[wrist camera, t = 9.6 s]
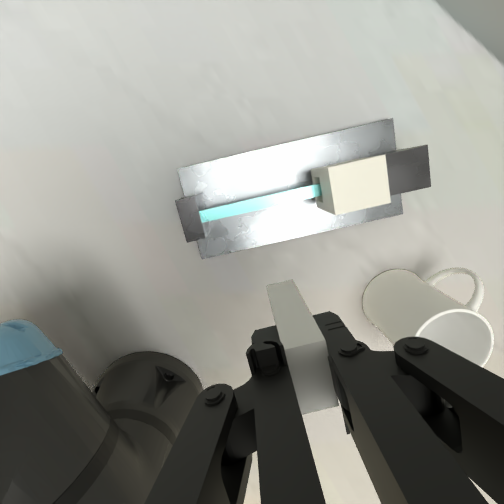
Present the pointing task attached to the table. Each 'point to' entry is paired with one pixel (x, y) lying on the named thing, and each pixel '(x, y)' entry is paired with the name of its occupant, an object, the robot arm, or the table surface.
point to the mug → (429, 312)
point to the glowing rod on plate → (288, 189)
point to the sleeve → (352, 185)
